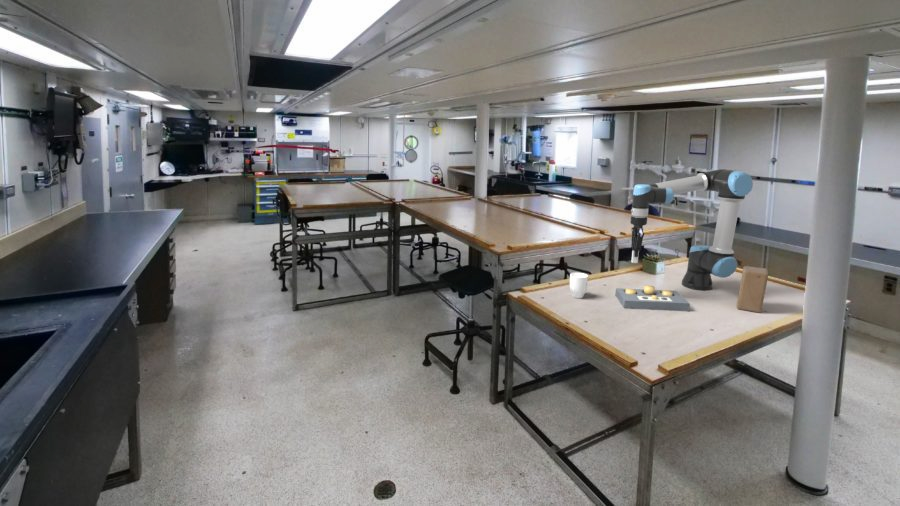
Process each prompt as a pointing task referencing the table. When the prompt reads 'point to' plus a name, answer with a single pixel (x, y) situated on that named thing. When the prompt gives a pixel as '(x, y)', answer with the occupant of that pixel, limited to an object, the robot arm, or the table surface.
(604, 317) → the table surface
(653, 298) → the card
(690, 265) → the robot arm
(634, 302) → the console
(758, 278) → the wooden block
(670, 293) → the button
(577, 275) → the mug
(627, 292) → the button
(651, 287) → the button middle
